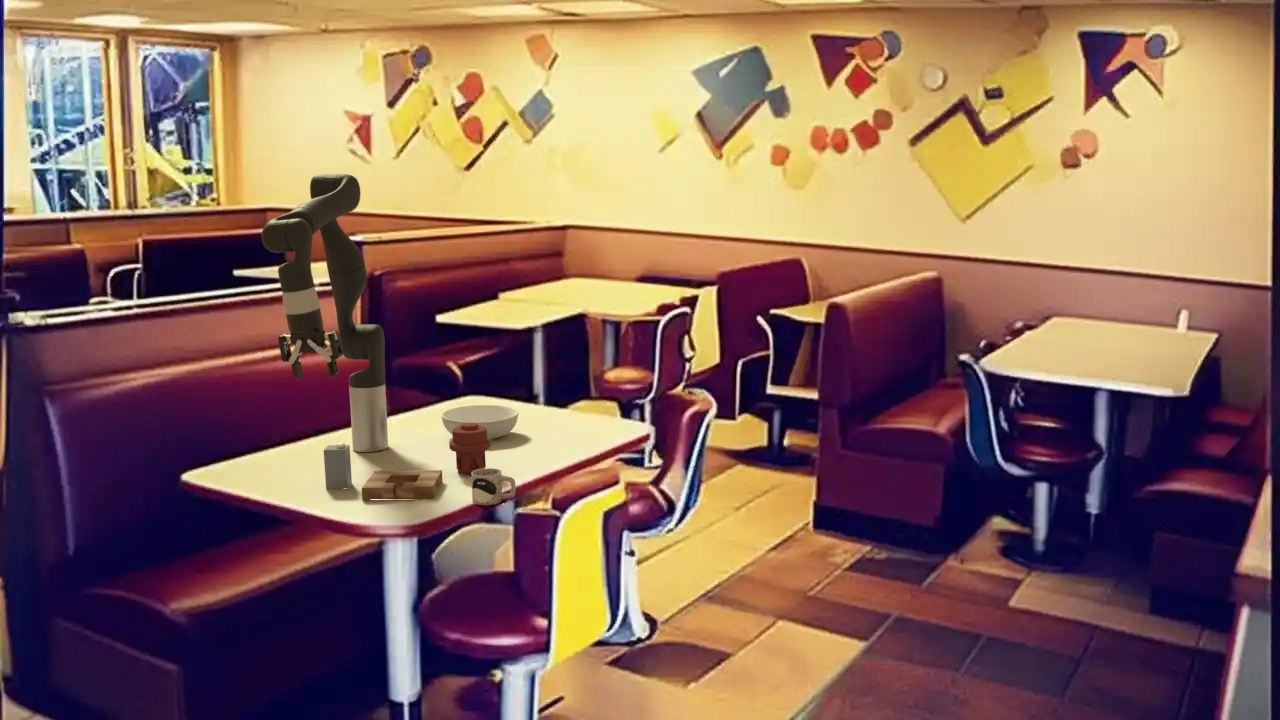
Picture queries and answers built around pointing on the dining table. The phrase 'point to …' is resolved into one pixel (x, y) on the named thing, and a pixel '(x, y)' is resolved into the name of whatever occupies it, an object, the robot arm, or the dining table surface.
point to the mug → (490, 486)
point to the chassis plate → (402, 485)
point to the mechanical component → (469, 447)
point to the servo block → (337, 466)
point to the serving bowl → (482, 418)
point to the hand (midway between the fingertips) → (316, 377)
